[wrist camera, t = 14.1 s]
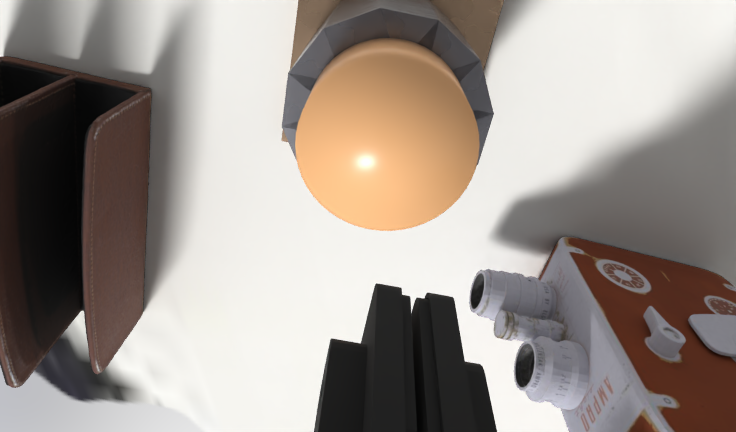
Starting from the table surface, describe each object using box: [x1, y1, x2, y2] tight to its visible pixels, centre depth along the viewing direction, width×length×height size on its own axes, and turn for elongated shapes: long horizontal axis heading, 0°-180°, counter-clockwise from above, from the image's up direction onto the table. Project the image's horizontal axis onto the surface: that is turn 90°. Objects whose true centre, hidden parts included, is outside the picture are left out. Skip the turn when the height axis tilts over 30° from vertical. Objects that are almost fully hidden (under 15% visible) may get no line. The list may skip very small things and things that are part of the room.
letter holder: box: [0, 56, 152, 388], centre depth 34 cm, size 10×20×14 cm, turn 167°
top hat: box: [282, 0, 504, 166], centre depth 30 cm, size 12×12×11 cm
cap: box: [295, 38, 479, 231], centre depth 25 cm, size 7×7×7 cm
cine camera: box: [469, 237, 736, 432], centre depth 34 cm, size 9×19×20 cm, turn 76°
